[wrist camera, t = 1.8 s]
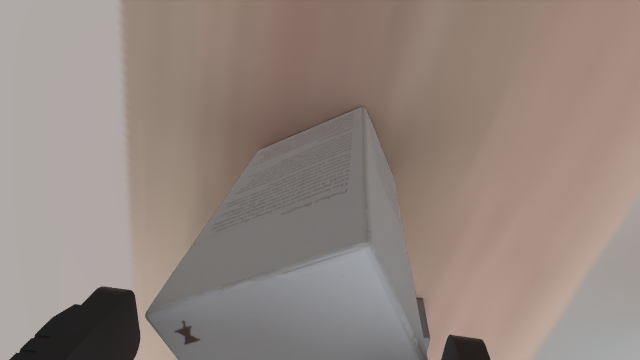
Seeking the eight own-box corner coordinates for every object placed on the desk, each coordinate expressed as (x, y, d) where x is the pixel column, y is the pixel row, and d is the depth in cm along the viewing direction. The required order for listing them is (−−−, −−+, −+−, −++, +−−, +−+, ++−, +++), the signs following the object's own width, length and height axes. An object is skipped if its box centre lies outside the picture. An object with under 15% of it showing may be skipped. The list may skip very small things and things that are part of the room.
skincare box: (293, 216, 22) (220, 427, 11) (257, 148, 21) (132, 314, 10) (399, 178, 20) (435, 381, 9) (367, 101, 19) (367, 237, 8)
